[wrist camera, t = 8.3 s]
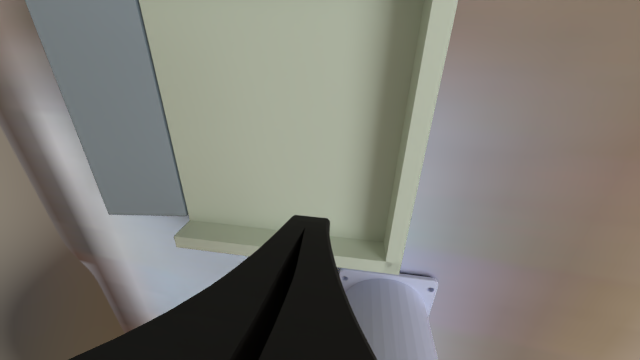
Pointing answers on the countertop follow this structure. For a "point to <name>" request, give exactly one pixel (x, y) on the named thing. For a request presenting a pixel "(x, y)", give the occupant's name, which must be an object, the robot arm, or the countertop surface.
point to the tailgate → (113, 101)
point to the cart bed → (300, 117)
